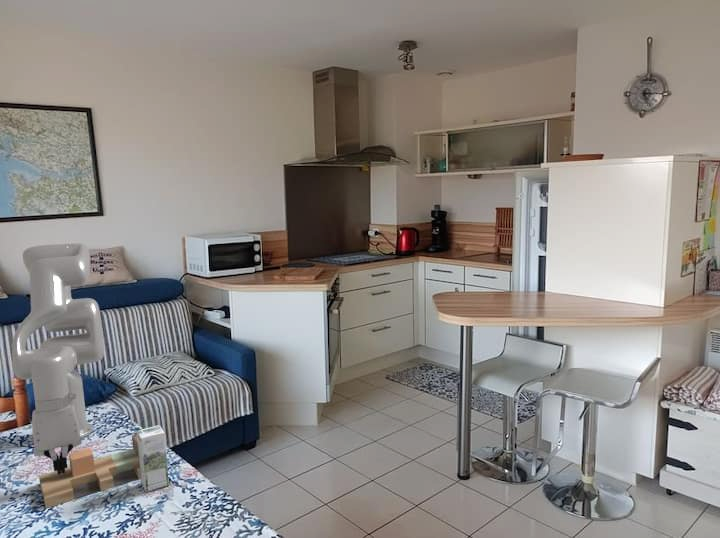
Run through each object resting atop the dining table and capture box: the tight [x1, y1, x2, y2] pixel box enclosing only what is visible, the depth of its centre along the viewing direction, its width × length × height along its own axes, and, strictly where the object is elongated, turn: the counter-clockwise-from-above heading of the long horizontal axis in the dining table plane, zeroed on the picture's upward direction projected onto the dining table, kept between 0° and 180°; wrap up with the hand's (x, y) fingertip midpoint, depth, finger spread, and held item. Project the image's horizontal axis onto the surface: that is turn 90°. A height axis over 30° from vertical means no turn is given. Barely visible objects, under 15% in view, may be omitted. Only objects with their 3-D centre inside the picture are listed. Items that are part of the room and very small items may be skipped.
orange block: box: [68, 447, 95, 477], centre depth 140 cm, size 5×5×4 cm
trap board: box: [38, 434, 141, 509], centre depth 140 cm, size 14×24×6 cm, turn 126°
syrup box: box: [136, 425, 170, 493], centre depth 135 cm, size 6×6×14 cm
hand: (61, 471), depth 138 cm, fingers closed
